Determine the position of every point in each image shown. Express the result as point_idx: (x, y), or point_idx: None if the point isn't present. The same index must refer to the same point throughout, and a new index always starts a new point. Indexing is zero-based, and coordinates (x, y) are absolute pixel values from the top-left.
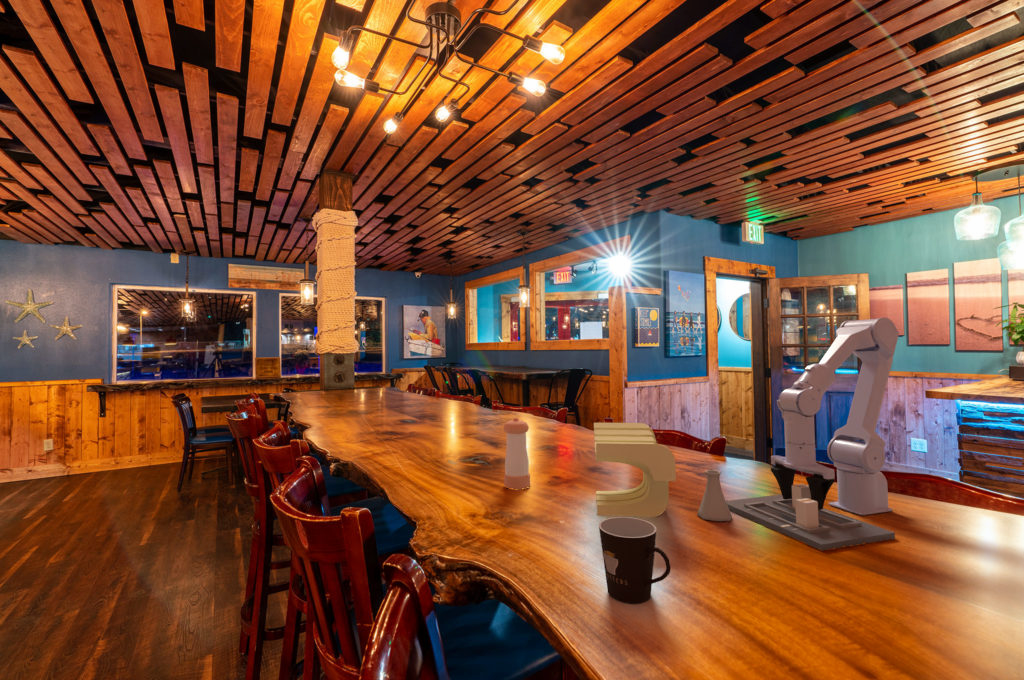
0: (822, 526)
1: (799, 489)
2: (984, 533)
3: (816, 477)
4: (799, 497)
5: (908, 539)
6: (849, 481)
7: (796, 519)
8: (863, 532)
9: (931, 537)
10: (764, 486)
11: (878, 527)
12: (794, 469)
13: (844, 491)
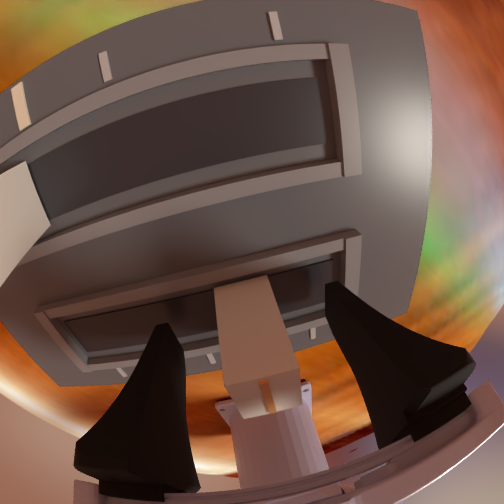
0: None
1: (235, 371)
2: None
3: (128, 482)
4: (231, 332)
5: (71, 388)
6: (264, 470)
7: (10, 169)
8: (29, 336)
9: (97, 415)
10: (467, 300)
11: (83, 383)
12: (334, 467)
13: (272, 437)
